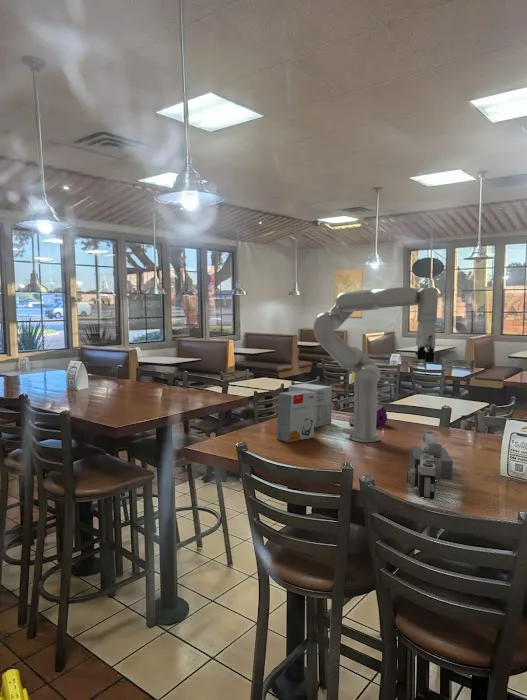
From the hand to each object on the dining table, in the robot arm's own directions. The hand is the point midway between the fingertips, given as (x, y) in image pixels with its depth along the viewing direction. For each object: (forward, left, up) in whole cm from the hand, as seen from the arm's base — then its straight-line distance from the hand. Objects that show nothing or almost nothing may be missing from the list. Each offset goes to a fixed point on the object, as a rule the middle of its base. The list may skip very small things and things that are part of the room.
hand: (425, 360), depth 204 cm
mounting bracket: (-22, +31, -36) cm, 52 cm away
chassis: (-1, -34, -35) cm, 49 cm away
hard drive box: (-52, -2, -35) cm, 63 cm away
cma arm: (-1, -34, -27) cm, 43 cm away
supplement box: (-49, +29, -35) cm, 67 cm away
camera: (-7, -53, -35) cm, 64 cm away
